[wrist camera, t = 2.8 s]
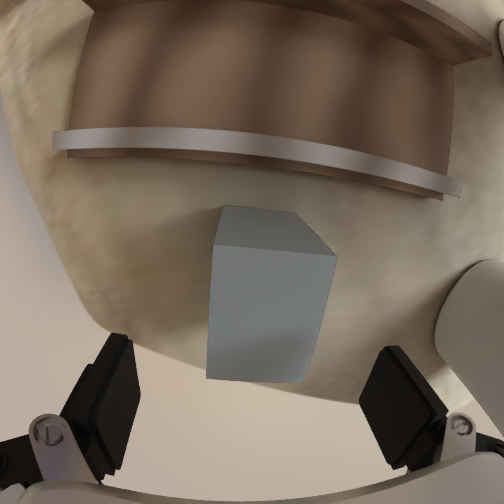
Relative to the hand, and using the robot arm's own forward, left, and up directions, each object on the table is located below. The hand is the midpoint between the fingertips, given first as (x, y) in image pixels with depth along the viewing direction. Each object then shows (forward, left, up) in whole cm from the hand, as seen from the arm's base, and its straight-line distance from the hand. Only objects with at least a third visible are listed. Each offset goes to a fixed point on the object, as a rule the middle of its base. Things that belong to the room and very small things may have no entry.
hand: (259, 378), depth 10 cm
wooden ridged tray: (0, -13, -12) cm, 18 cm away
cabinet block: (0, 0, -12) cm, 12 cm away
